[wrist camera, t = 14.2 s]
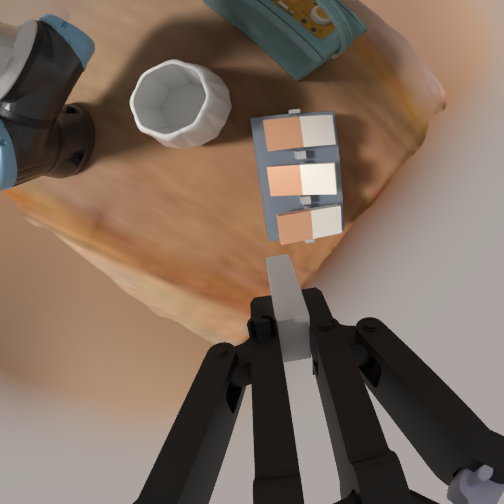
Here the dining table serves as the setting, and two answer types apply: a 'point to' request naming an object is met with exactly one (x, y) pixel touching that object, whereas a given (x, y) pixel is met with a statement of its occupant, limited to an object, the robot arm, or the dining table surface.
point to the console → (292, 156)
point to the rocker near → (299, 132)
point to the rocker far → (309, 223)
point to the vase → (180, 104)
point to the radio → (305, 29)
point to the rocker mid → (302, 179)
